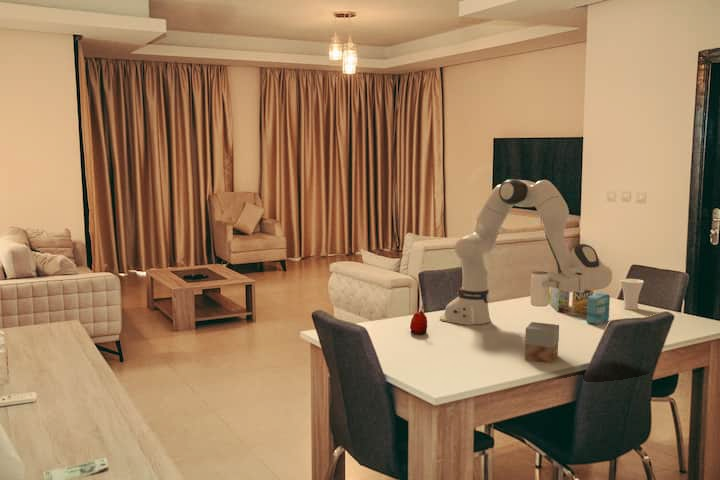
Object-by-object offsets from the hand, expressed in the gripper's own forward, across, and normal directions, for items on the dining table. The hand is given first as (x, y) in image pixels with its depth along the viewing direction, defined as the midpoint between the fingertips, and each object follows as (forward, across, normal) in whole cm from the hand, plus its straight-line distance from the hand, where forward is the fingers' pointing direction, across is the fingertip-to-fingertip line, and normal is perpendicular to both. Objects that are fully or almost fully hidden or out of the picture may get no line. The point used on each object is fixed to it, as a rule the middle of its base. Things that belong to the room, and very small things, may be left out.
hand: (537, 282), depth 256 cm
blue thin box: (-51, -38, +28) cm, 70 cm away
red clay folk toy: (+31, -42, +27) cm, 59 cm away
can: (-1, 0, +8) cm, 9 cm away
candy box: (-52, -50, +28) cm, 78 cm away
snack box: (-50, -68, +28) cm, 89 cm away
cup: (-81, -55, +28) cm, 102 cm away
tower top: (0, +3, +22) cm, 22 cm away
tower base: (0, +3, +28) cm, 28 cm away
